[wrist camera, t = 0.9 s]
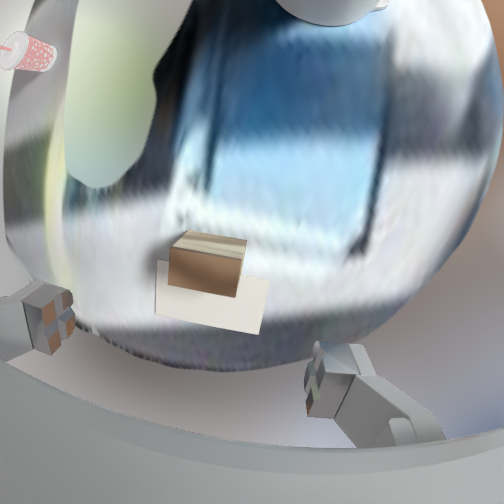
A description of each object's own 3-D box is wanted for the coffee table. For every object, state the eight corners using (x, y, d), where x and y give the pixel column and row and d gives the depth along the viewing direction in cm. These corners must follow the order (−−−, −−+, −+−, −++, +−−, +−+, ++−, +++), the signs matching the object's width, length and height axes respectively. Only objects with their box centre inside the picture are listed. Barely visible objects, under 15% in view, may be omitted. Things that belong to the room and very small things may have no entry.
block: (188, 229, 41) (170, 248, 33) (246, 240, 41) (241, 261, 33) (185, 260, 42) (167, 284, 35) (241, 271, 42) (235, 298, 35)
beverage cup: (29, 68, 33) (-29, 59, 20) (48, 37, 31) (-8, 20, 18) (46, 81, 34) (-15, 72, 21) (66, 49, 32) (8, 29, 19)
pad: (158, 259, 42) (157, 260, 42) (269, 280, 42) (269, 280, 42) (156, 313, 45) (155, 314, 45) (258, 333, 45) (258, 334, 45)
